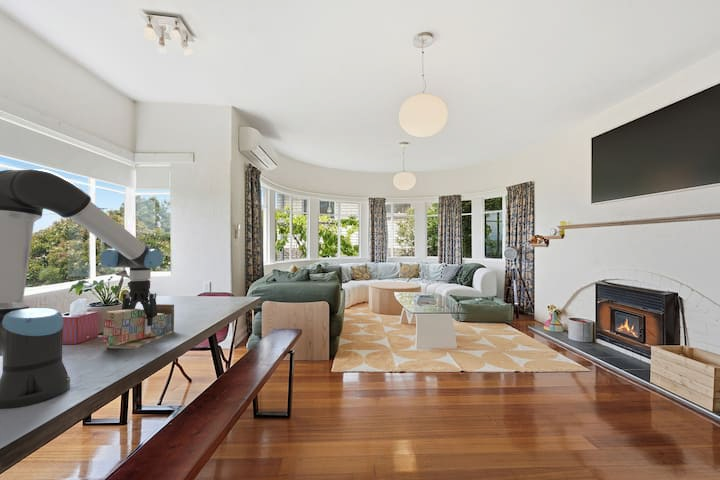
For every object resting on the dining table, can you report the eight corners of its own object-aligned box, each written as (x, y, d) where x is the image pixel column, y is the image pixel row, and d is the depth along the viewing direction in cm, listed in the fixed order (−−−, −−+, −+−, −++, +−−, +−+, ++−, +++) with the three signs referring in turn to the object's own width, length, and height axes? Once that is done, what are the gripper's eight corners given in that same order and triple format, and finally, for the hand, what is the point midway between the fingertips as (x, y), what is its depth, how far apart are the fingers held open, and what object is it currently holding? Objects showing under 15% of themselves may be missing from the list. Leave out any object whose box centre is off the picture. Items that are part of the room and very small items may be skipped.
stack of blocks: (154, 333, 145) (156, 306, 146) (163, 334, 143) (166, 307, 144) (101, 342, 125) (105, 311, 126) (111, 344, 123) (115, 312, 124)
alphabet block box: (135, 348, 126) (135, 316, 126) (106, 348, 127) (106, 315, 127) (173, 331, 150) (174, 304, 150) (149, 331, 151) (150, 304, 151)
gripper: (168, 279, 139) (167, 331, 138) (124, 279, 141) (123, 331, 140) (156, 280, 132) (154, 336, 131) (110, 280, 133) (108, 335, 132)
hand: (138, 333), depth 135 cm, fingers closed on stack of blocks, 7 cm apart
